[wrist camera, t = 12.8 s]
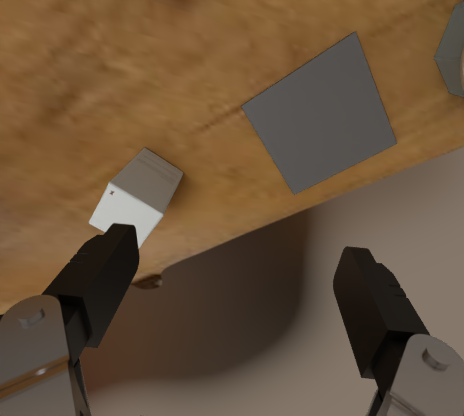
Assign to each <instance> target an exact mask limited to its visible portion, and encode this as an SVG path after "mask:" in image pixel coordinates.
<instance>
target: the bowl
mask: <svg viewBox="0 0 464 416" xmlns="http://www.w3.org/2000/svg"><path fill="white" fill-rule="evenodd" d="M453 9H454V10H453V13H452V15H451V18H450V20H449V23H448V25H447V28H446V30H445V33H444V35H443V37H442V40H441V42H440V45H439V47H438V50H437V52H436V55H435V56H434V60H435V61H436V63H437V65H438V67H439V70H440V72H441V74H442V77H443V79H444V81H445V83H446V86H447V88H448V90H449V91H448V92H449V93H450V94H454V95H458V96H461V97H464V90H463V87H462V83H461V77H460V62H461V55H462V51H463V47H464V0H463V1H462V2H461V3H459V4H458V5H456V6H455V7H454V8H453Z"/></svg>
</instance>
